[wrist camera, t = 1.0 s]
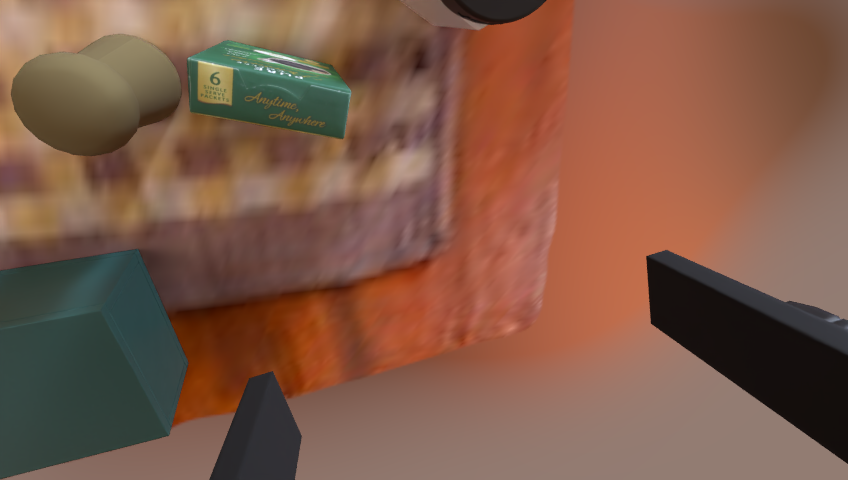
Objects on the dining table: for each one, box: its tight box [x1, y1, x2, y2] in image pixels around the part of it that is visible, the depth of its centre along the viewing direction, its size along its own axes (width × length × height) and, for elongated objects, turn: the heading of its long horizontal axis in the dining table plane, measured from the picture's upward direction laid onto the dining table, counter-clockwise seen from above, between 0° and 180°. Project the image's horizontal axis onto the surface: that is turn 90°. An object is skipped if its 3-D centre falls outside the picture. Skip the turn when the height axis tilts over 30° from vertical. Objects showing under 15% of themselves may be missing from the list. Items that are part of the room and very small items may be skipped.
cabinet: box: [0, 249, 188, 479], centre depth 33 cm, size 16×14×9 cm
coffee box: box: [187, 40, 351, 139], centre depth 26 cm, size 8×3×13 cm, turn 76°
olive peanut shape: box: [11, 34, 181, 156], centre depth 25 cm, size 6×6×11 cm
